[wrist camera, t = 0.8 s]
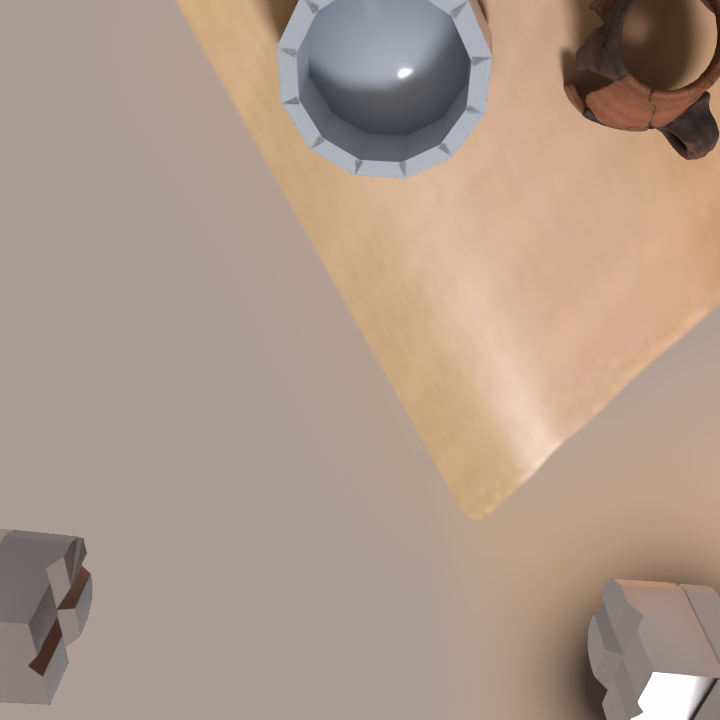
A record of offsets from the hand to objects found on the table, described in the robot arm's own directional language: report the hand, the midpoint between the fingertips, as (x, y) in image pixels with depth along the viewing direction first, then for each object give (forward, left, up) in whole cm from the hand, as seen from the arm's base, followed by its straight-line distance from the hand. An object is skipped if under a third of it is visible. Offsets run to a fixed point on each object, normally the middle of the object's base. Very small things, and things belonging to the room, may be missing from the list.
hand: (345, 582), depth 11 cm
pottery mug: (-9, +12, -42) cm, 45 cm away
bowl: (+6, +4, -42) cm, 43 cm away
